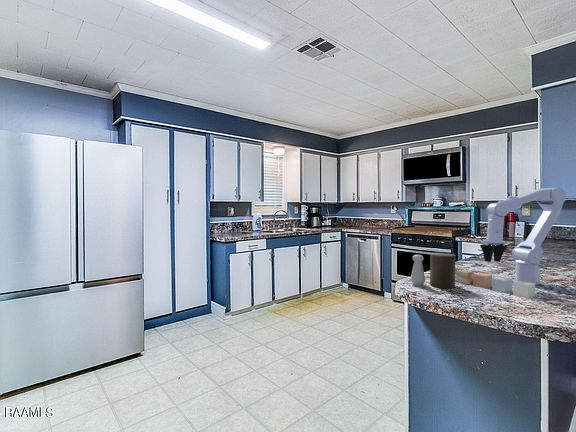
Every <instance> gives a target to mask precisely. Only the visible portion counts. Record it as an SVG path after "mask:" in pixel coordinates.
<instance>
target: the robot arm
mask: <svg viewBox="0 0 576 432" xmlns="http://www.w3.org/2000/svg"><path fill="white" fill-rule="evenodd" d="M567 198H568V196H567V194H566V191H565V189H564V188H562V187H561V186H558V187H547V188H546V187H545V188H541V187H539V188H537V189H533V190H532V191H530V192H527V193H526V194H523V195H521V196H515V195H514V196H513V195H509V196H507V198H505V199H503V200H502V199H501V200H498V201H497V202H491V203H489V204H488V206H487V207H486V208H485V213H486V214H487V230H486V231H487V232H486V238H485V239H483V240H482V243H481V244H480V245H479V246H480V248H481V251H482V254H483V258H484V262H488V263H491V262H492V259H493V260H494V262H497V263H498V262H501V260H502V257H503V255H504V253H505V251H506V250H507V248H508V246H507V245H506V240H503V236H504V235H503V234H504V223H505V217H506V216H508V214H509V213H511V212H513V211H516V210H519V209H520V208H522V206H523V205H525V204H527V203H531V202H533V201H536V202H537V203H538V205H539V207H541V209H542V210H543V211H542V213H541V215H540V216H539V218H538V219H537V221H536V223H535V225H534V226H533V228H532V230H531V232H530V233H529V235H528V236H527V238H526V239H525V240H524V241H522V242H520V243H518V245H516V247H514V248H513V249H512V251H511V256H512V259H513V260H514V263H515V280H513V282H517V281H525V282H530V283H535V286H537V285H541V284H543V282H541V268H540V266H539V263H540V262H541V261H542V255H543V253H544V249H543V248H542V244H543V243H544V241H545V239H546V237H547V236H548V234H549V233H550V230H551V229H552V228H553V226H554V224H555V222H556V221H557V219H558V218H559V217H560V214H562V208H563V205H564V203H565V202H566V200H567Z"/></svg>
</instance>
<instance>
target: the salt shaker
mask: <svg viewBox="0 0 576 432" xmlns="http://www.w3.org/2000/svg"><path fill="white" fill-rule="evenodd" d="M412 260H413V261H414V263H413V266H412V270H411V274H410V275H411V276H410V281H411V284H412V285H413V286H416V287H422V286H424V284H425V282H426V276H425V271H424V265H423V261H424V256H423V255H421V254H414V255H413V256H412Z"/></svg>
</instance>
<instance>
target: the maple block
mask: <svg viewBox="0 0 576 432" xmlns="http://www.w3.org/2000/svg"><path fill="white" fill-rule="evenodd" d="M473 274H475V272H474V271H472V270H468V269H467V270H466V269H460V270H458V269H457V270H455V283H461V284H466V285H467V284H468V285H469V284H473Z"/></svg>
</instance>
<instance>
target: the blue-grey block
mask: <svg viewBox="0 0 576 432" xmlns="http://www.w3.org/2000/svg"><path fill="white" fill-rule="evenodd" d="M513 281H514V280H513V278H509V277H502V276H496V277H492V287H491V290H493V291H495V292H500V293H503V294H504V293H510V292H513Z"/></svg>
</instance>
